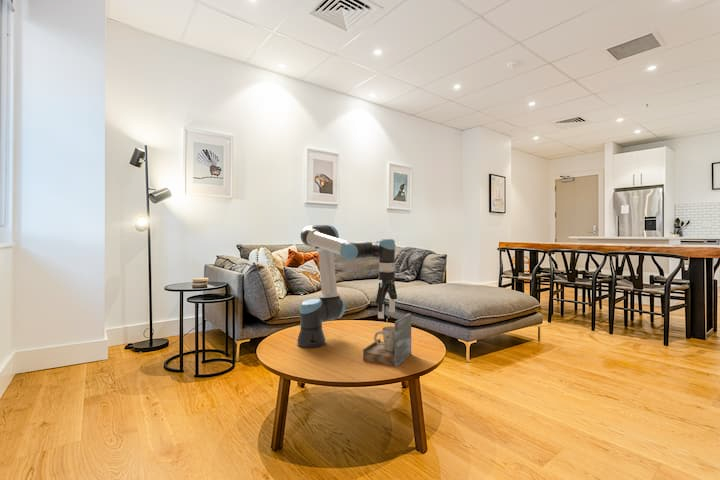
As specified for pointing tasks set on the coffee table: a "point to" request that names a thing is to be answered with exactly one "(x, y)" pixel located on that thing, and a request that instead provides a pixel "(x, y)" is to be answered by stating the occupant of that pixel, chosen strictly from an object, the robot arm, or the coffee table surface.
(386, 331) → the mug
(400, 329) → the cleat board
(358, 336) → the coffee table surface
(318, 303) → the robot arm
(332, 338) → the coffee table surface
